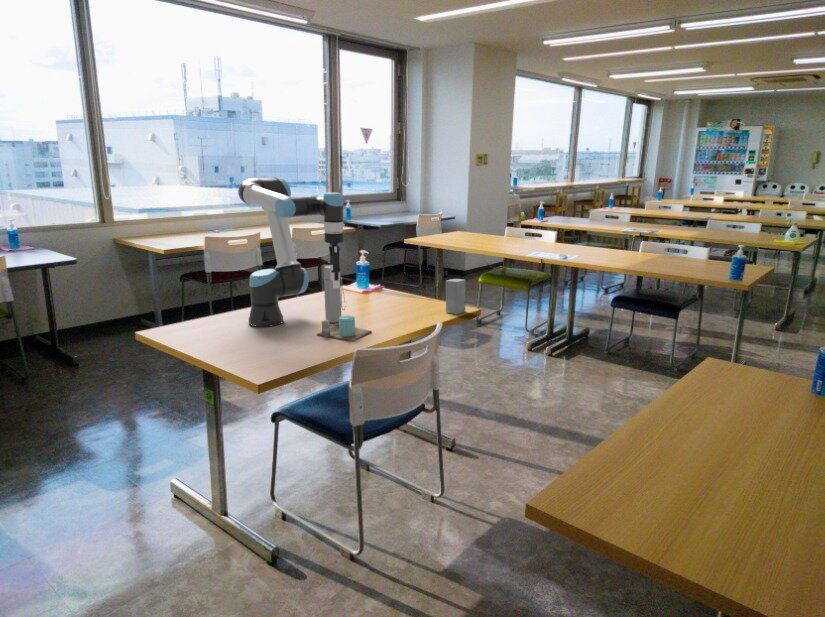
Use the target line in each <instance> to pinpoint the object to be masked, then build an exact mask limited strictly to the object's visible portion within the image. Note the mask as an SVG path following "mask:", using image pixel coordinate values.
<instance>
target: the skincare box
mask: <svg viewBox="0 0 825 617" xmlns="http://www.w3.org/2000/svg"><path fill="white" fill-rule="evenodd" d="M464 312H466V279H464V278H463V279H461V278H452V279H447V280H445V313H446V314H452V315H457V316H458V315H459V314H462V313H464Z"/></svg>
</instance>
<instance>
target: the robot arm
mask: <svg viewBox="0 0 825 617" xmlns="http://www.w3.org/2000/svg"><path fill="white" fill-rule="evenodd" d="M237 193H238V196H239V199H240V200H241V201H242V202H243V203H244V204H246V205H247V206H252V207H253V206H254V207H255V206H259V207H261V209H262V211H264V212H265V213H266V215H267V220H268V225H269V230H270V235H271V239H272V243H273V251H274V254H275V258H276V263H277V264H276V266H275V268H265V269H260V270H259V269H258V270H256V271H254V272H252V273H251V274H250V275H249V284H248V286H249V293H250V303H251V307H250V311H249V317H248V324H249V323H250V324H252V325H256V326H269V327H271V326H270V325H275V326H277V325H276V324H279V323H281V322H283V323H284V316H283V314H282V311H281V308H280V306H279V298H284V297H290V296H296V295H299V294H303V293H304V292H306V291H307V288H308V286H309V274H308V271H307V270H306V268H304V267H302V266H301V265H302V264H301V263H300V262H299V261H298V260H297V258H296V253H295V248H294V243H293V239H292V234H291V230H290V224H289V220H288V219H290V218H298V217H309V216H323V218H324V220H323V226H324V227H323V231H324V243H326V244H327V243H328V244H329V246H328V250H329V266H330V277H331V281H333V288H340V289H341V279H340V277H341V267H340V266H341V265H340V246H339V244H341V243H343V242H345V240H344V239H345V238H344V227H345V225H346V224H345V223H344V201H343V200H344V199H343V194H342V193H340V192H333V191H332V192H331V191H330V192H324V193H323V196H321V195H317V194H316V195H309V196H296V197H294V196H293V197H292V191H291V187H290V184H289V183H288V182H287V180H285V178H282V177H275V176H272V177H251V178H246V179H245V180H243V181H242V182H241V183H240V184H239V187H238V190H237ZM281 324H282V323H281ZM279 325H280V324H279Z"/></svg>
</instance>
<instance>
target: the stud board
mask: <svg viewBox="0 0 825 617" xmlns="http://www.w3.org/2000/svg"><path fill="white" fill-rule="evenodd" d="M372 332H373V331H372V330H368V329H363V328H357V327H355V335H353V336H341V335H340V334H339V324H337V325H336V324H335V325H334V326H330V322H329V320H326V319H325V320H324V319H323V320H321V331H320V332H317V333H316V335H317V336H318V335H319V337H325V338H330V339H337V340H341V341H348V342H351V343H353V342H355V341H357V340H360V339H361V338H363V337H365V336H368V335H370V334H371V333H372Z"/></svg>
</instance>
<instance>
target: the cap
mask: <svg viewBox="0 0 825 617" xmlns="http://www.w3.org/2000/svg"><path fill="white" fill-rule="evenodd" d="M338 325H339V334H340V335H341V336H353V335H355V328H356V320H355V316H354V315H341V317H339V322H338Z"/></svg>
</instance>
